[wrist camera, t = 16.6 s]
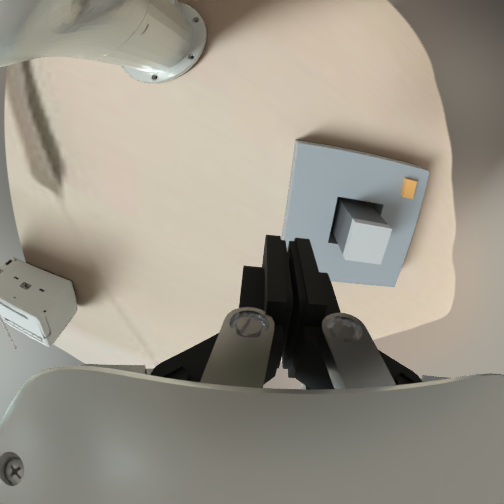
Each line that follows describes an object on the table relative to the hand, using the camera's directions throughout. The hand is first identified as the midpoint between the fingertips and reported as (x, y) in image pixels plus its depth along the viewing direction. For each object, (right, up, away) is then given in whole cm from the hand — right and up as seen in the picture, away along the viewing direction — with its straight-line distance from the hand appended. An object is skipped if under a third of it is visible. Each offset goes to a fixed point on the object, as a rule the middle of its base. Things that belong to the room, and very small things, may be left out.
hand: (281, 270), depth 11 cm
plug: (+12, +6, +28) cm, 31 cm away
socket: (+12, +6, +28) cm, 31 cm away
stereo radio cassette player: (-46, -5, +38) cm, 60 cm away
